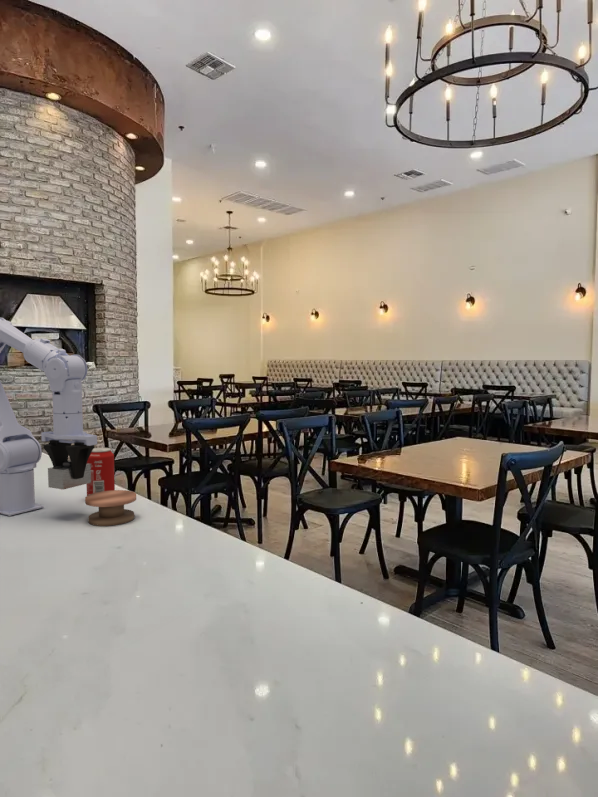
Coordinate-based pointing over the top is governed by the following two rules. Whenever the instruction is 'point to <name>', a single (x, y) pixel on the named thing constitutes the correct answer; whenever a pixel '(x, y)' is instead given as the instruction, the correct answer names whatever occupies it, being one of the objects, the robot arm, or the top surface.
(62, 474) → the block
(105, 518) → the stand
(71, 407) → the robot arm
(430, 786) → the top surface
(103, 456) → the beverage can
